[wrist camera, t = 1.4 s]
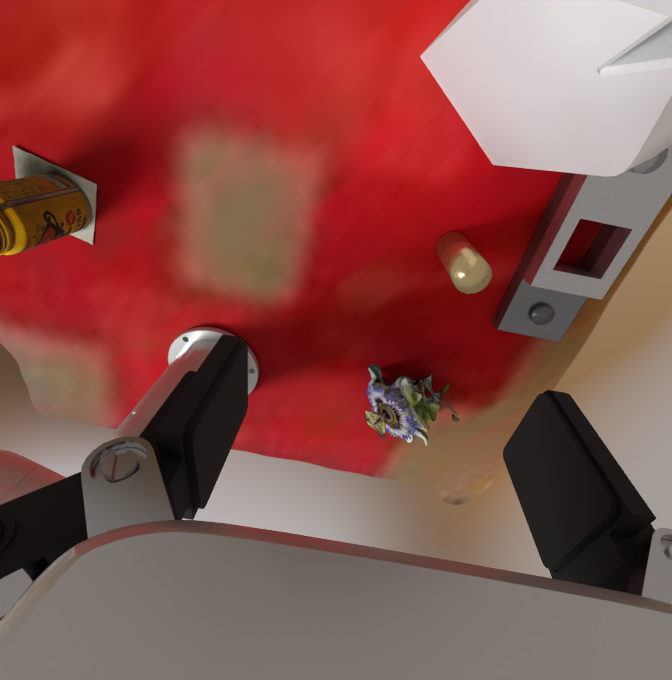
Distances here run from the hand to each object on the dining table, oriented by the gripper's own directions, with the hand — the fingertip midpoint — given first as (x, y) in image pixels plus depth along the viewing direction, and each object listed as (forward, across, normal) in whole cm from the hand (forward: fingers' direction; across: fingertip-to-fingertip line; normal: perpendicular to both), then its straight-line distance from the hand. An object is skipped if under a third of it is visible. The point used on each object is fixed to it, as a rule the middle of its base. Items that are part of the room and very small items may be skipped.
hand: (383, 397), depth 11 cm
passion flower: (+29, -9, +22) cm, 38 cm away
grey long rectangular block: (+30, -21, 0) cm, 36 cm away
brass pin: (+30, -9, +3) cm, 31 cm away
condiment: (+29, +35, +5) cm, 46 cm away
